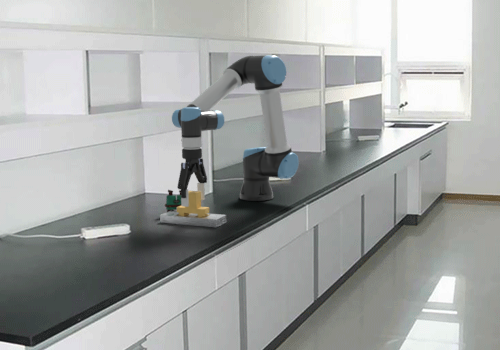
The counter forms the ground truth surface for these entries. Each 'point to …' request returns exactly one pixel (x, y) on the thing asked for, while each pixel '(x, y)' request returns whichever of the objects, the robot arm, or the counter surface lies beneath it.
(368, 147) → the counter surface
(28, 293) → the counter surface
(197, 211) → the yellow stepped block
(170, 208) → the binoculars
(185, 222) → the grey board with holes
